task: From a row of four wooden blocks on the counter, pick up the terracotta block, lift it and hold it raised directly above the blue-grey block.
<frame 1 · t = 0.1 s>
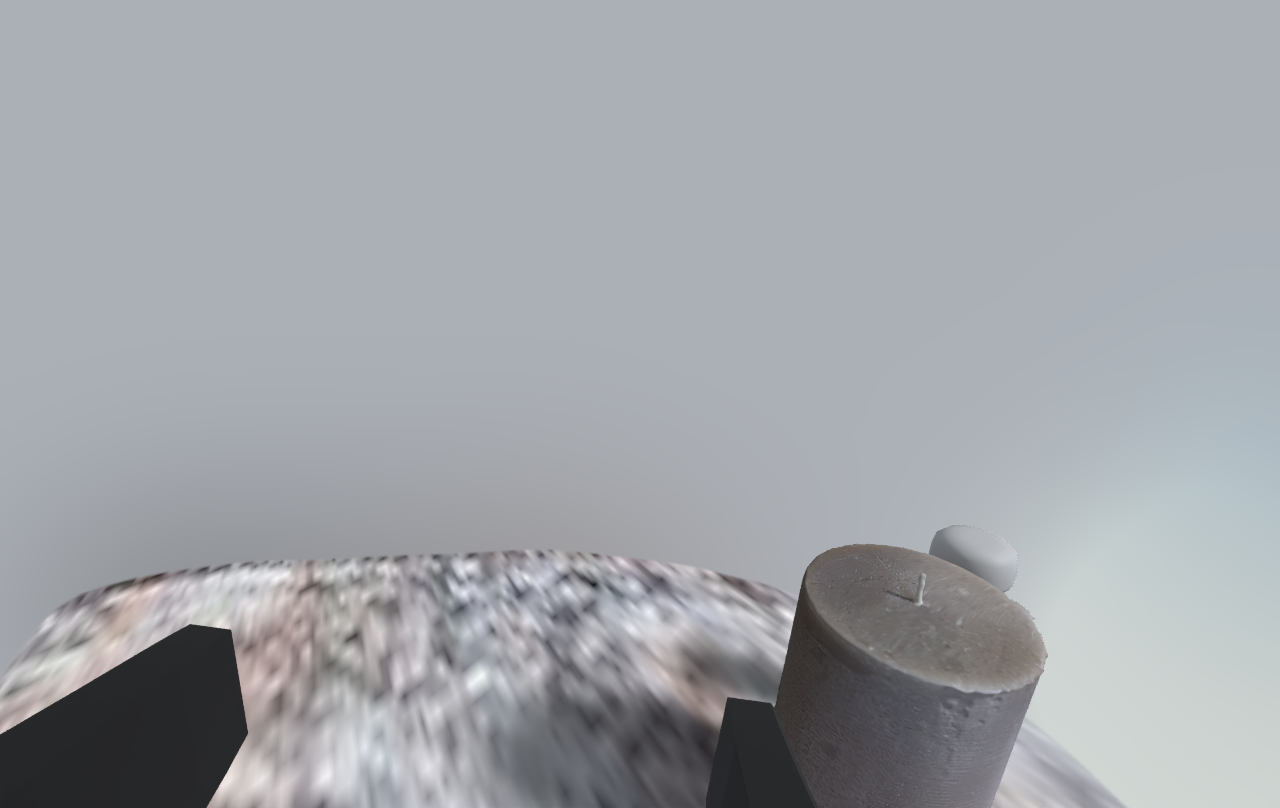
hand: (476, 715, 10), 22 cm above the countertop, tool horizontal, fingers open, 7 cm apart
salt shaker: (920, 732, 40), on the countertop
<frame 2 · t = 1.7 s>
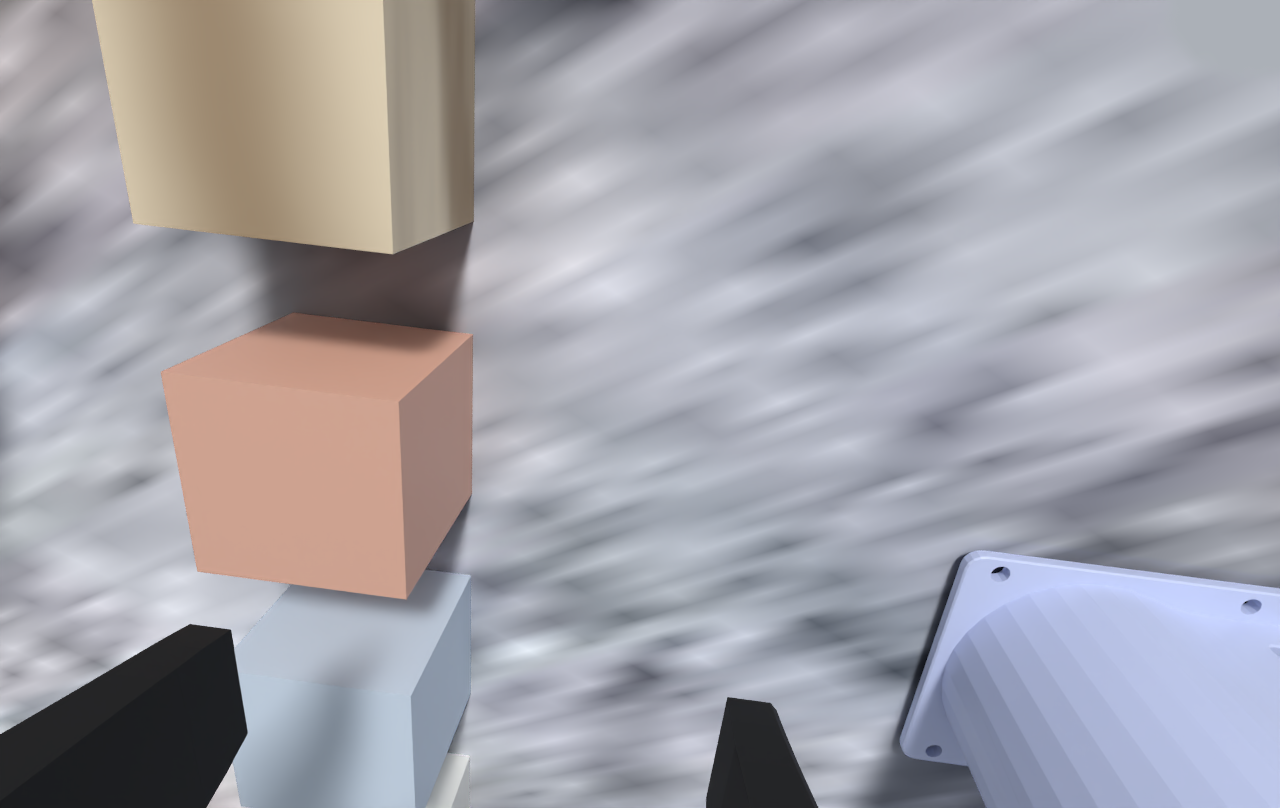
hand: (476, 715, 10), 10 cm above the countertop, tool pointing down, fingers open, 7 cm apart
cream block: (405, 791, 25), on the countertop
blue-grey block: (397, 625, 22), on the countertop
maple block: (373, 103, 16), on the countertop
terracotta block: (387, 406, 19), on the countertop
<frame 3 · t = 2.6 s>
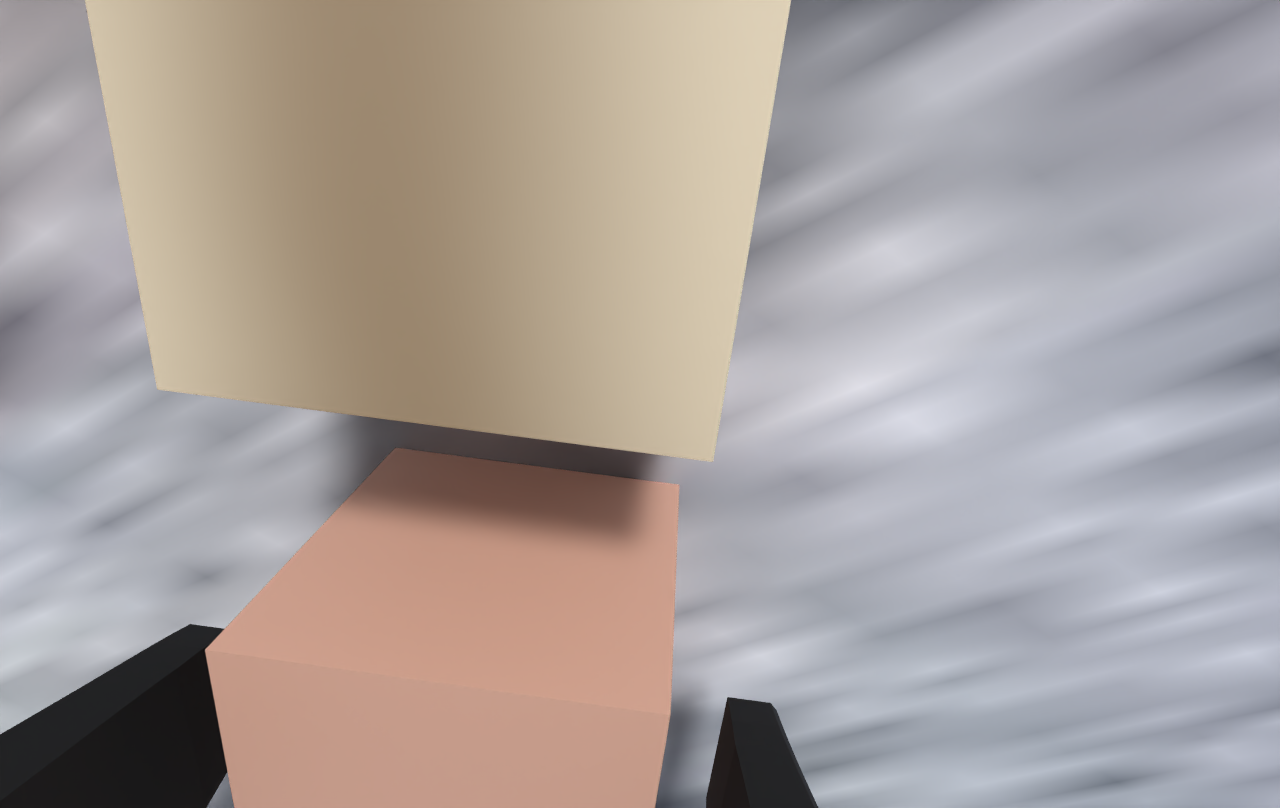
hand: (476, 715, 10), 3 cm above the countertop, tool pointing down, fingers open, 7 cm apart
maple block: (556, 125, 10), on the countertop
terracotta block: (531, 580, 13), on the countertop
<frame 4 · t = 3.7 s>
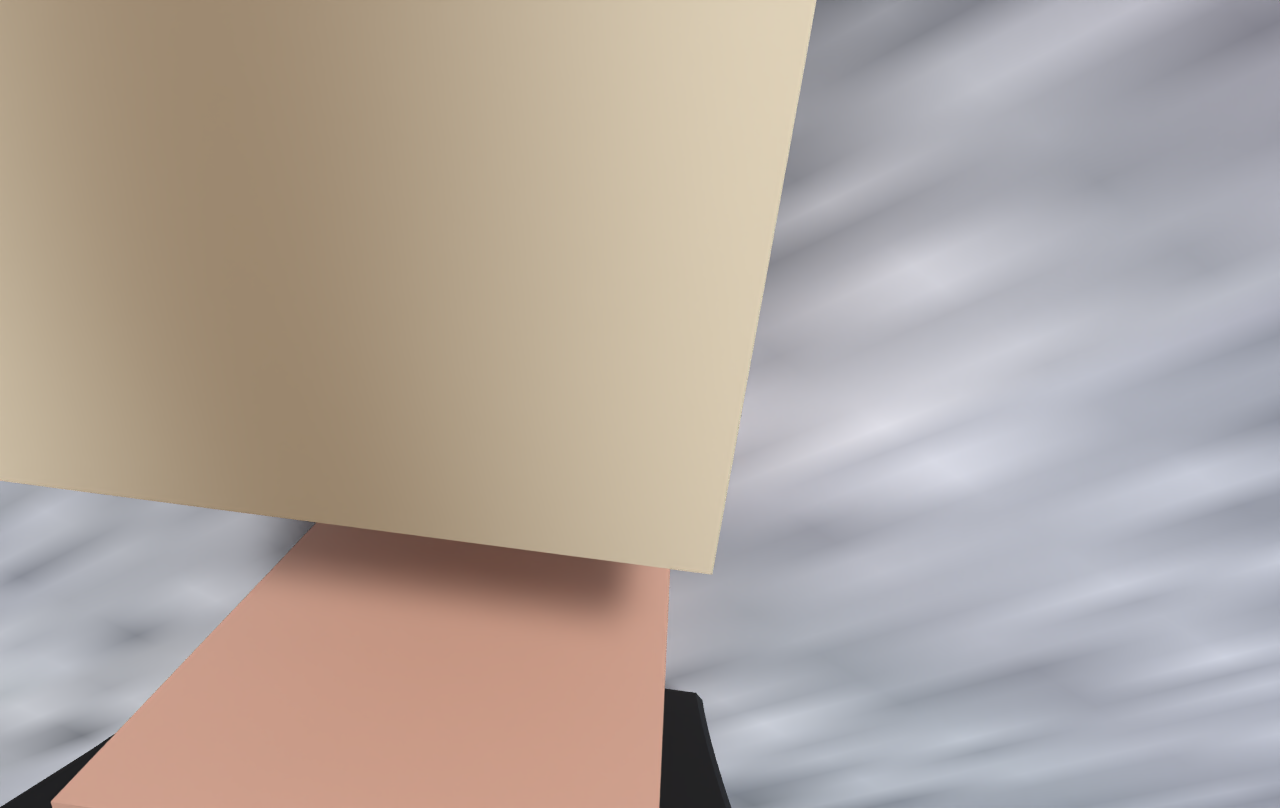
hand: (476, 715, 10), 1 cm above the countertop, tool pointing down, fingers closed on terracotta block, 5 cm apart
maple block: (523, 121, 8), on the countertop
terracotta block: (501, 644, 11), on the countertop, touching gripper
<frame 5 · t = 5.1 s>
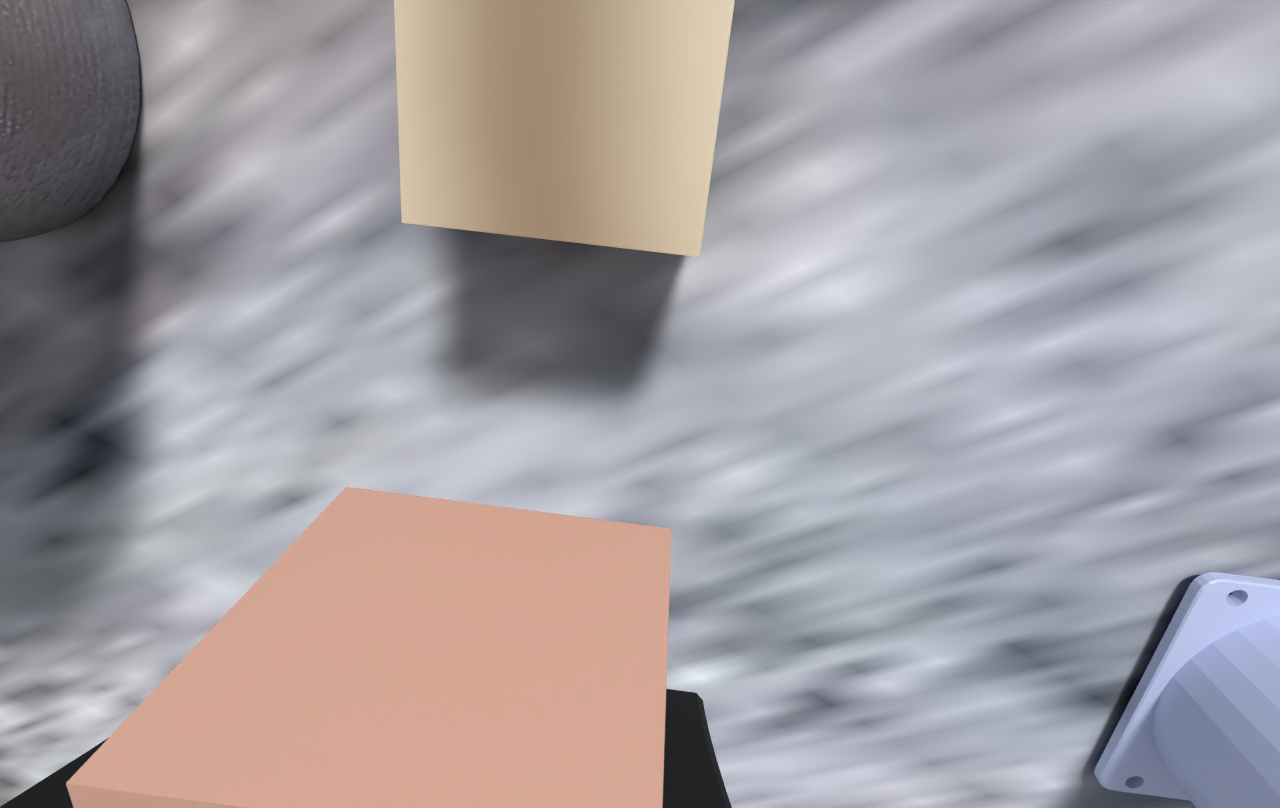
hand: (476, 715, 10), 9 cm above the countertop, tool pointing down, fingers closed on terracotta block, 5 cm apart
maple block: (599, 90, 15), on the countertop
terracotta block: (503, 636, 11), point 7 cm above the countertop, touching gripper
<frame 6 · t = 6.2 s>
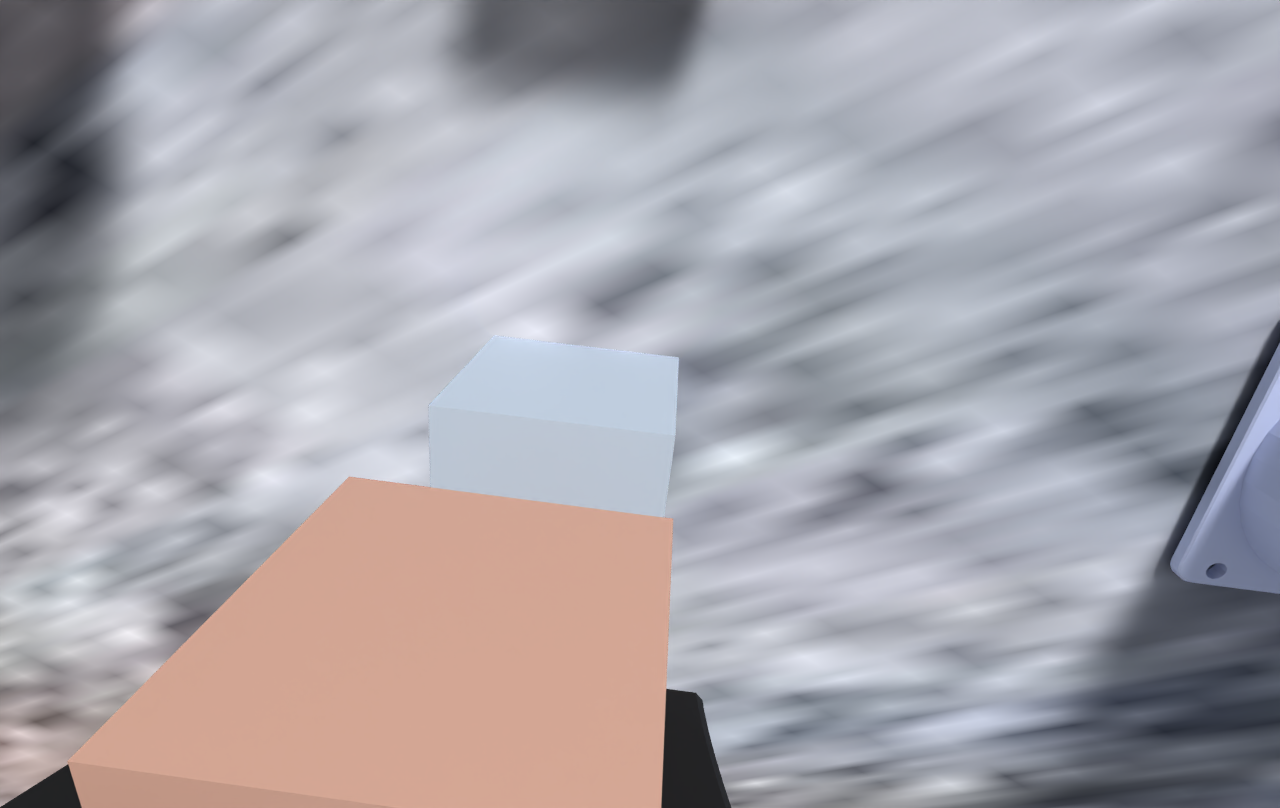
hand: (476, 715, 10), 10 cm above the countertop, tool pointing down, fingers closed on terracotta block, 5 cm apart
blue-grey block: (580, 429, 19), on the countertop
terracotta block: (505, 627, 11), point 8 cm above the countertop, touching gripper
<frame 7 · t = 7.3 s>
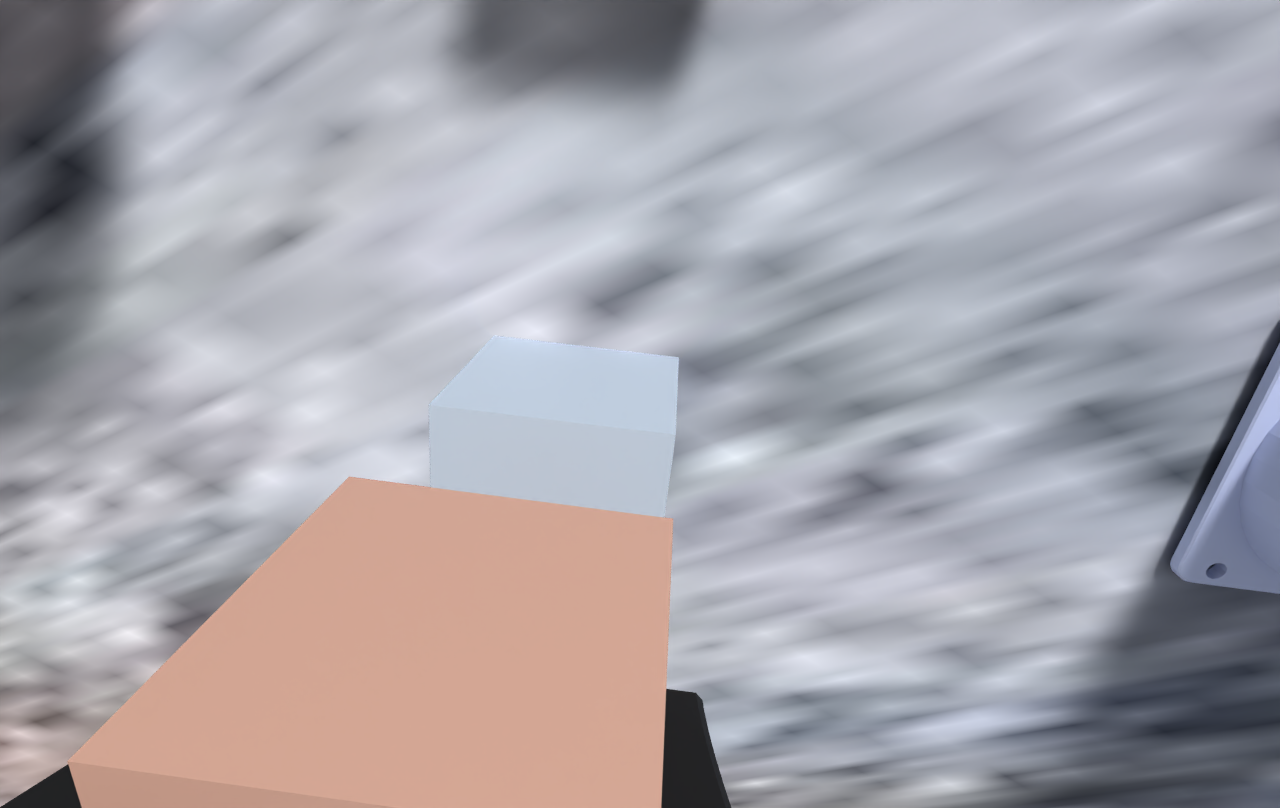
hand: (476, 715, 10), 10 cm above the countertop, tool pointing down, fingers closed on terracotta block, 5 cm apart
blue-grey block: (580, 429, 19), on the countertop
terracotta block: (505, 627, 11), point 8 cm above the countertop, touching gripper
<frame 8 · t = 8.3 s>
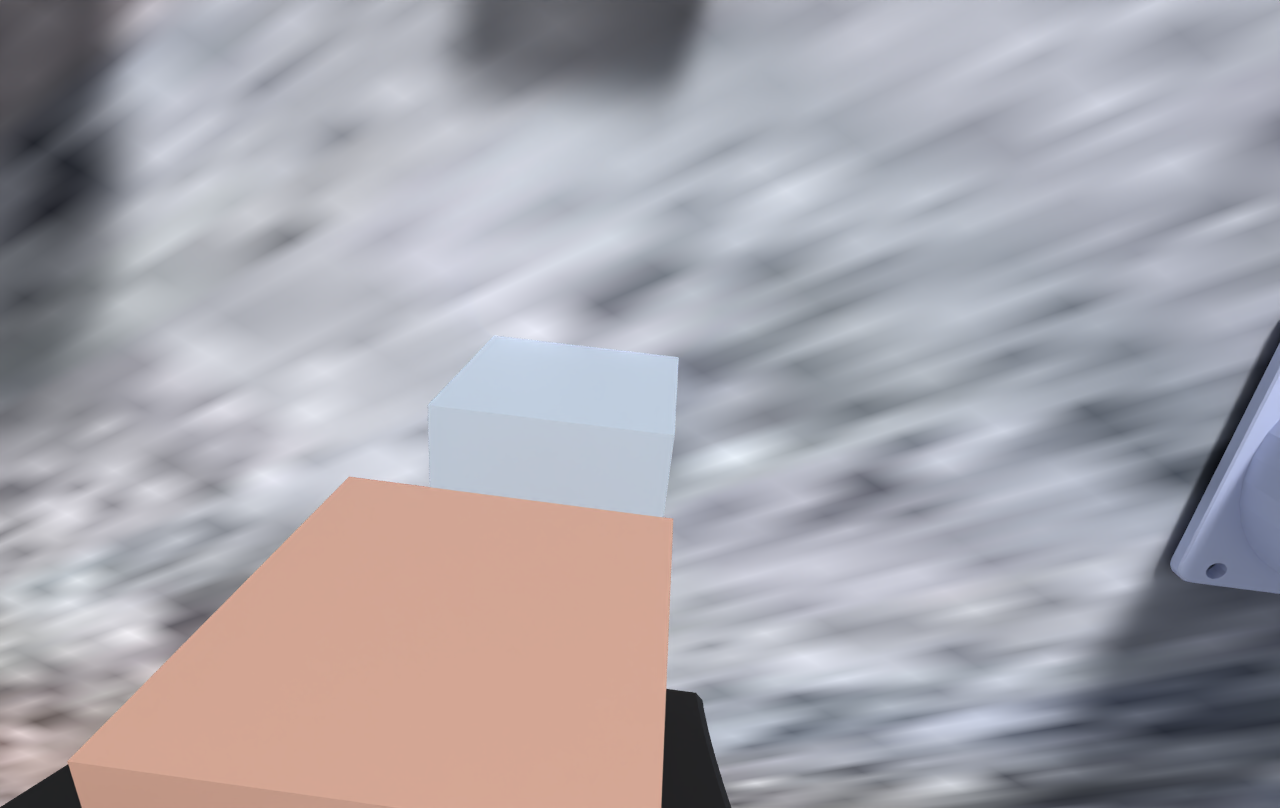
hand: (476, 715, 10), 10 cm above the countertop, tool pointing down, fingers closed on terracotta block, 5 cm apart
blue-grey block: (580, 429, 19), on the countertop
terracotta block: (505, 627, 11), point 8 cm above the countertop, touching gripper
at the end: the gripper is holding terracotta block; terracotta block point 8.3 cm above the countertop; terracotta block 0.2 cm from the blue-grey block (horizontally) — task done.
